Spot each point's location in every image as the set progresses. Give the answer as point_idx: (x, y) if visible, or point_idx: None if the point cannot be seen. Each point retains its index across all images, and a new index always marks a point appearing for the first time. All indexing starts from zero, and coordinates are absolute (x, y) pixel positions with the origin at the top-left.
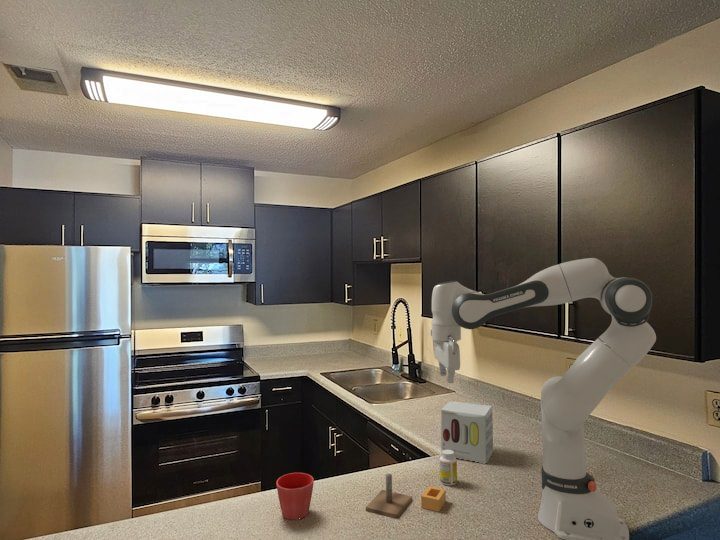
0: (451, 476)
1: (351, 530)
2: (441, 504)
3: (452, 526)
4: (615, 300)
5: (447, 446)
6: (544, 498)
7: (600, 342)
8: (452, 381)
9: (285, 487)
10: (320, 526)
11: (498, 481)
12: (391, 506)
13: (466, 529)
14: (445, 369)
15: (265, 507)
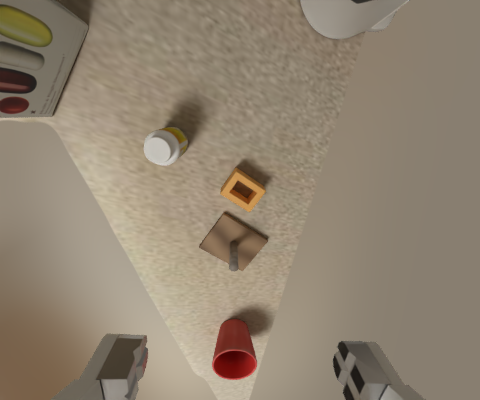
0: (185, 143)
1: (279, 284)
2: (254, 180)
3: (302, 179)
4: None
5: (39, 104)
6: (358, 12)
7: None
8: (378, 354)
9: (221, 359)
10: (264, 309)
11: (176, 38)
12: (246, 243)
13: (314, 164)
14: (98, 382)
15: None
